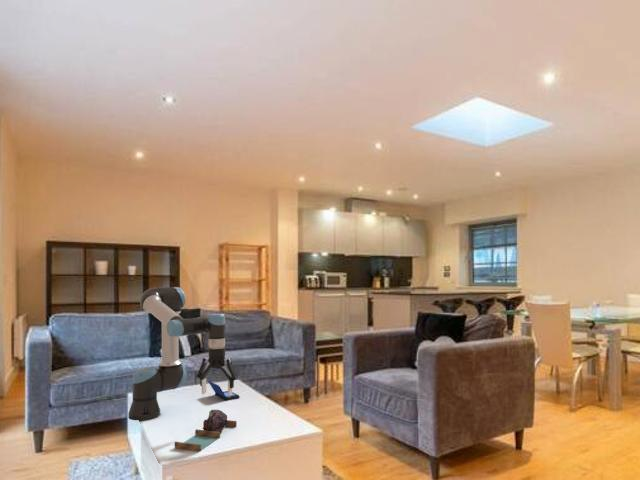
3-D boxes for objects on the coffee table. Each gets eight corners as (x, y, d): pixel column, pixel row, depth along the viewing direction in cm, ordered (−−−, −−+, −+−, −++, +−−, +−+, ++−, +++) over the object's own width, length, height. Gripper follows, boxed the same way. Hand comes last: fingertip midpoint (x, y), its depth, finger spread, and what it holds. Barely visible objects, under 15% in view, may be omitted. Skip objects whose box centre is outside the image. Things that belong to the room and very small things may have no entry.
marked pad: (177, 447, 187) (177, 446, 187) (194, 436, 199) (194, 435, 199) (201, 450, 184) (201, 449, 184) (217, 439, 196) (217, 438, 196)
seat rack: (174, 448, 186) (174, 442, 186) (214, 424, 215) (214, 418, 215) (199, 451, 182) (199, 445, 182) (236, 426, 211) (236, 421, 211)
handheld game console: (240, 398, 259) (240, 382, 260) (218, 402, 251) (218, 385, 252) (229, 392, 272) (229, 377, 272) (208, 396, 264) (208, 380, 265)
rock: (210, 439, 198) (231, 434, 204) (211, 421, 198) (232, 415, 204) (200, 428, 208) (220, 423, 214) (201, 410, 207) (221, 405, 213)
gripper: (188, 348, 208) (188, 394, 207) (237, 349, 201) (237, 398, 199) (198, 345, 216) (198, 390, 214) (244, 347, 208) (245, 394, 206)
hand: (216, 394), depth 207 cm, fingers open, 13 cm apart
